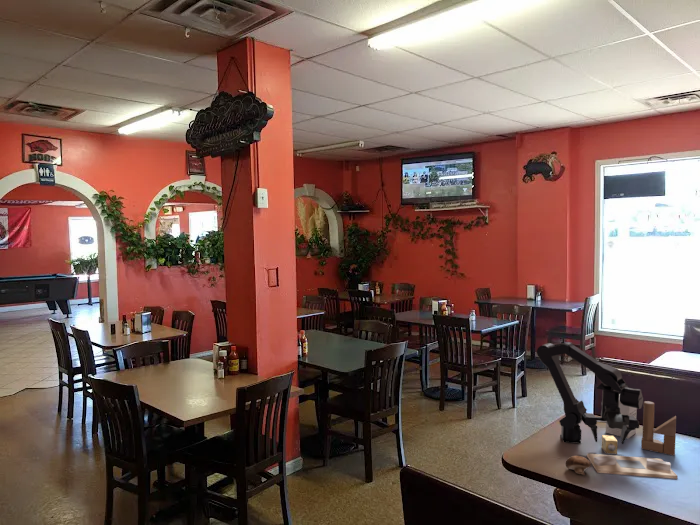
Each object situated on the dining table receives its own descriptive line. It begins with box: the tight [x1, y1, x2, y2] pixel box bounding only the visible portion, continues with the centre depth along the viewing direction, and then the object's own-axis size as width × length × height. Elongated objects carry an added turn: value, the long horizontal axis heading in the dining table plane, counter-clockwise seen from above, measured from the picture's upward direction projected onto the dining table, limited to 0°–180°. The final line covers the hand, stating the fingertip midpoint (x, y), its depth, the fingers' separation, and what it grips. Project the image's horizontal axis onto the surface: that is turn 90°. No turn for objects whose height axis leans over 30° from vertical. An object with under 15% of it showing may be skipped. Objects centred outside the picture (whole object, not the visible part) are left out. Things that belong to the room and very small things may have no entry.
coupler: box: [601, 434, 618, 455], centre depth 194 cm, size 7×4×5 cm, turn 170°
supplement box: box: [605, 393, 638, 440], centre depth 210 cm, size 9×9×15 cm
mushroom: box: [565, 455, 592, 476], centre depth 177 cm, size 8×8×6 cm
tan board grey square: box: [586, 453, 678, 480], centre depth 181 cm, size 25×13×3 cm, turn 80°
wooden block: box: [640, 400, 677, 457], centre depth 193 cm, size 4×11×18 cm, turn 55°
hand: (609, 442), depth 194 cm, fingers open, 9 cm apart
